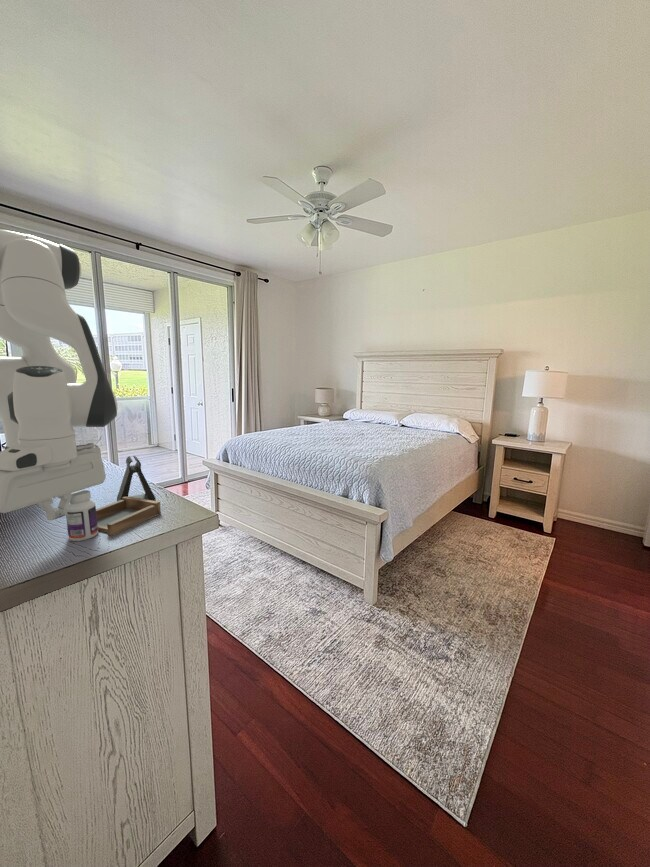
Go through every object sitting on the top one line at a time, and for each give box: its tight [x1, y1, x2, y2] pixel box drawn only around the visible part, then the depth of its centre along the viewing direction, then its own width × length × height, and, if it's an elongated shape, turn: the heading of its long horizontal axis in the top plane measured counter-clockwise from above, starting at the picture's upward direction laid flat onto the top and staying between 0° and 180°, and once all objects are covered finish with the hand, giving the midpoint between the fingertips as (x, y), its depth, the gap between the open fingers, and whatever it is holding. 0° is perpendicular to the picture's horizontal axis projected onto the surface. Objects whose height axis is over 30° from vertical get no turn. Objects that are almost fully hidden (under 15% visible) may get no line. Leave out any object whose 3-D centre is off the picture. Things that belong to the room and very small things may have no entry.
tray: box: [96, 495, 162, 537], centre depth 85 cm, size 11×14×3 cm
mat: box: [97, 508, 138, 526], centre depth 86 cm, size 9×11×1 cm
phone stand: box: [116, 455, 157, 502], centre depth 98 cm, size 9×6×12 cm, turn 124°
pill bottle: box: [65, 489, 99, 542], centre depth 76 cm, size 5×5×10 cm
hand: (57, 517), depth 72 cm, fingers closed
